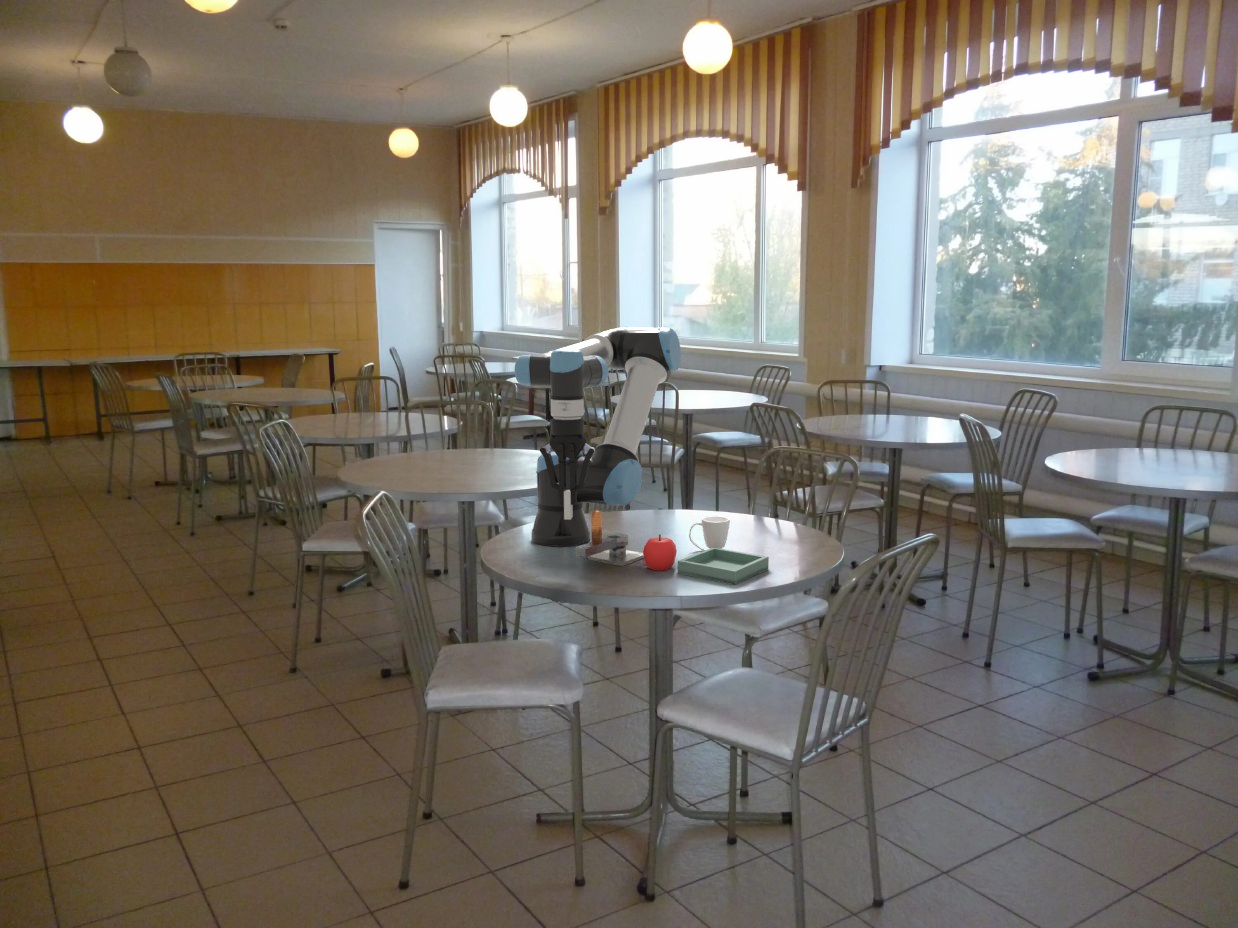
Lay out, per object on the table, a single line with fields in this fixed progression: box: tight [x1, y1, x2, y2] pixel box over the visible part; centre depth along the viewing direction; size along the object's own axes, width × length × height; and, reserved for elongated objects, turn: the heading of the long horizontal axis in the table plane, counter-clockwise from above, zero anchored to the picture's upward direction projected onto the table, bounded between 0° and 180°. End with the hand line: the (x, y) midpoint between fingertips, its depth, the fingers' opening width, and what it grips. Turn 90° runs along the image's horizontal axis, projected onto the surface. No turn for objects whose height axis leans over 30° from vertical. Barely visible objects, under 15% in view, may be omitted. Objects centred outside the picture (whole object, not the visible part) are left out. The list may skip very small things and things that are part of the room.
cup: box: [688, 515, 731, 551], centre depth 247 cm, size 7×10×8 cm
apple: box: [642, 534, 677, 572], centre depth 232 cm, size 8×8×8 cm
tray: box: [677, 547, 770, 586], centre depth 229 cm, size 15×15×3 cm
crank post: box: [587, 546, 644, 567], centre depth 241 cm, size 10×10×3 cm
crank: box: [575, 509, 629, 558], centre depth 235 cm, size 16×5×10 cm, turn 143°
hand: (568, 518), depth 233 cm, fingers closed
